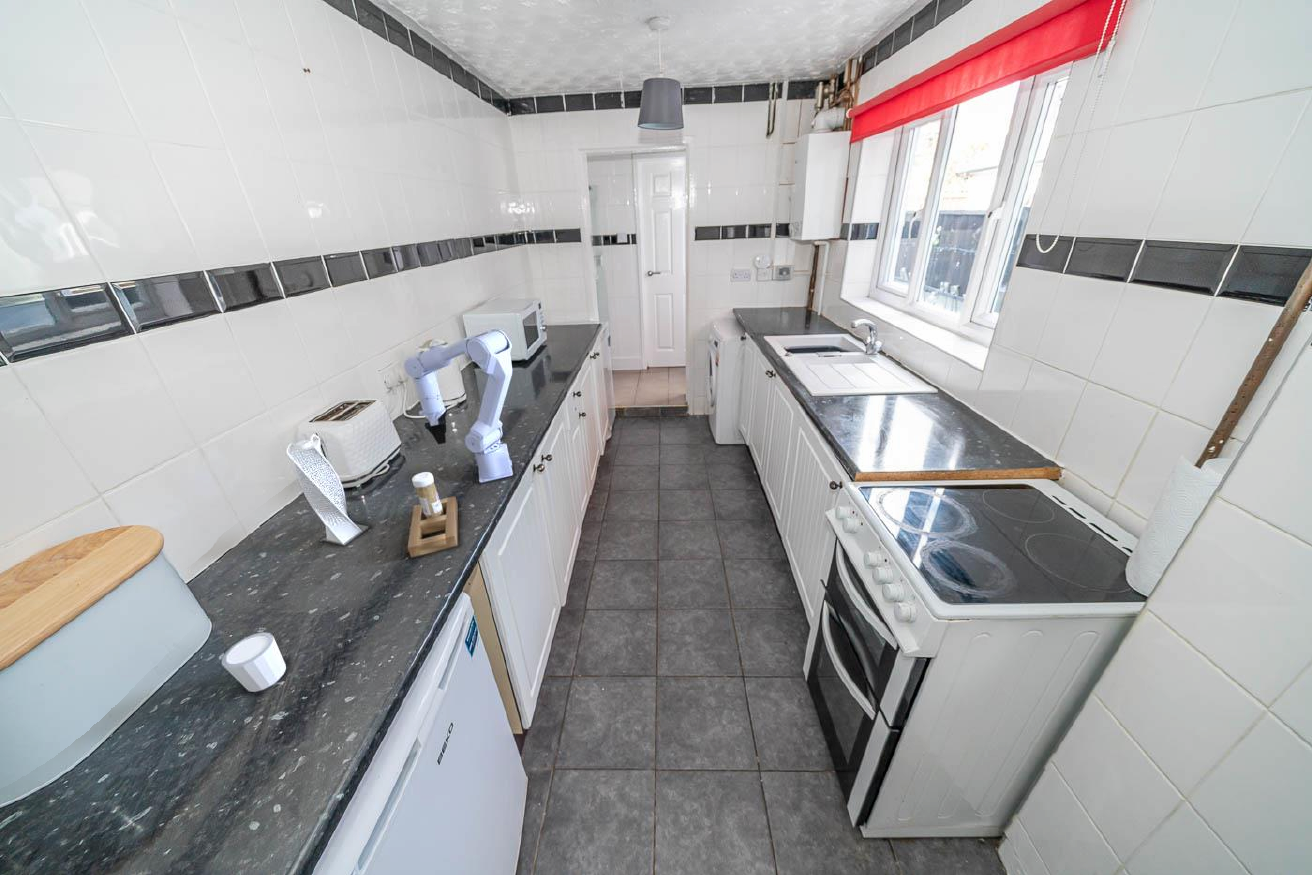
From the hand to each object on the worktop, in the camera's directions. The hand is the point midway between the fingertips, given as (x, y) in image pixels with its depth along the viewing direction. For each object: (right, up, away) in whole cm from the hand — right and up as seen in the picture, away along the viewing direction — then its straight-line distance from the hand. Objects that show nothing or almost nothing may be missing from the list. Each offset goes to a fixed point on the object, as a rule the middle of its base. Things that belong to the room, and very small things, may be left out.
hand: (442, 437), depth 136 cm
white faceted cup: (-3, -41, -58) cm, 71 cm away
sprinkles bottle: (+8, -21, -20) cm, 30 cm away
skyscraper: (-13, -25, -23) cm, 36 cm away
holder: (+9, -23, -23) cm, 34 cm away
